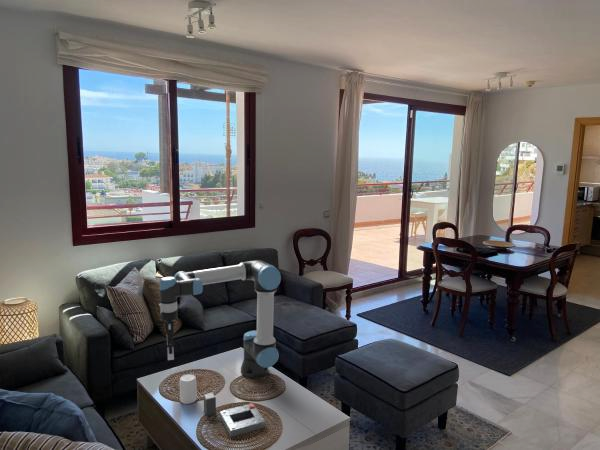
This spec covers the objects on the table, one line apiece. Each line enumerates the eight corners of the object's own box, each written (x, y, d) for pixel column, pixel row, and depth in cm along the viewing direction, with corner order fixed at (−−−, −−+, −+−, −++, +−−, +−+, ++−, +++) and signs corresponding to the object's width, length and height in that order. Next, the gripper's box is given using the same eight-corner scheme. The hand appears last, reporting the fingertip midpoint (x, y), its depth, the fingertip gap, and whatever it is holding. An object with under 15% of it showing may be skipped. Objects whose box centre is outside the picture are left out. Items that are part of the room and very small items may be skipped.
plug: (213, 408, 212) (213, 392, 211) (216, 413, 208) (215, 397, 207) (204, 411, 210) (203, 394, 209) (206, 416, 206) (206, 399, 205)
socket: (252, 408, 213) (252, 401, 212) (265, 427, 198) (265, 419, 198) (219, 417, 205) (219, 410, 205) (230, 437, 191) (230, 429, 191)
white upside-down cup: (192, 405, 215) (191, 382, 213) (177, 403, 216) (176, 380, 214) (199, 396, 222) (199, 374, 221) (184, 395, 224) (183, 372, 222)
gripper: (160, 302, 218) (161, 343, 221) (160, 320, 194) (162, 366, 198) (176, 301, 220) (177, 341, 223) (178, 318, 196) (179, 364, 200)
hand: (170, 353), depth 210 cm, fingers open, 13 cm apart
